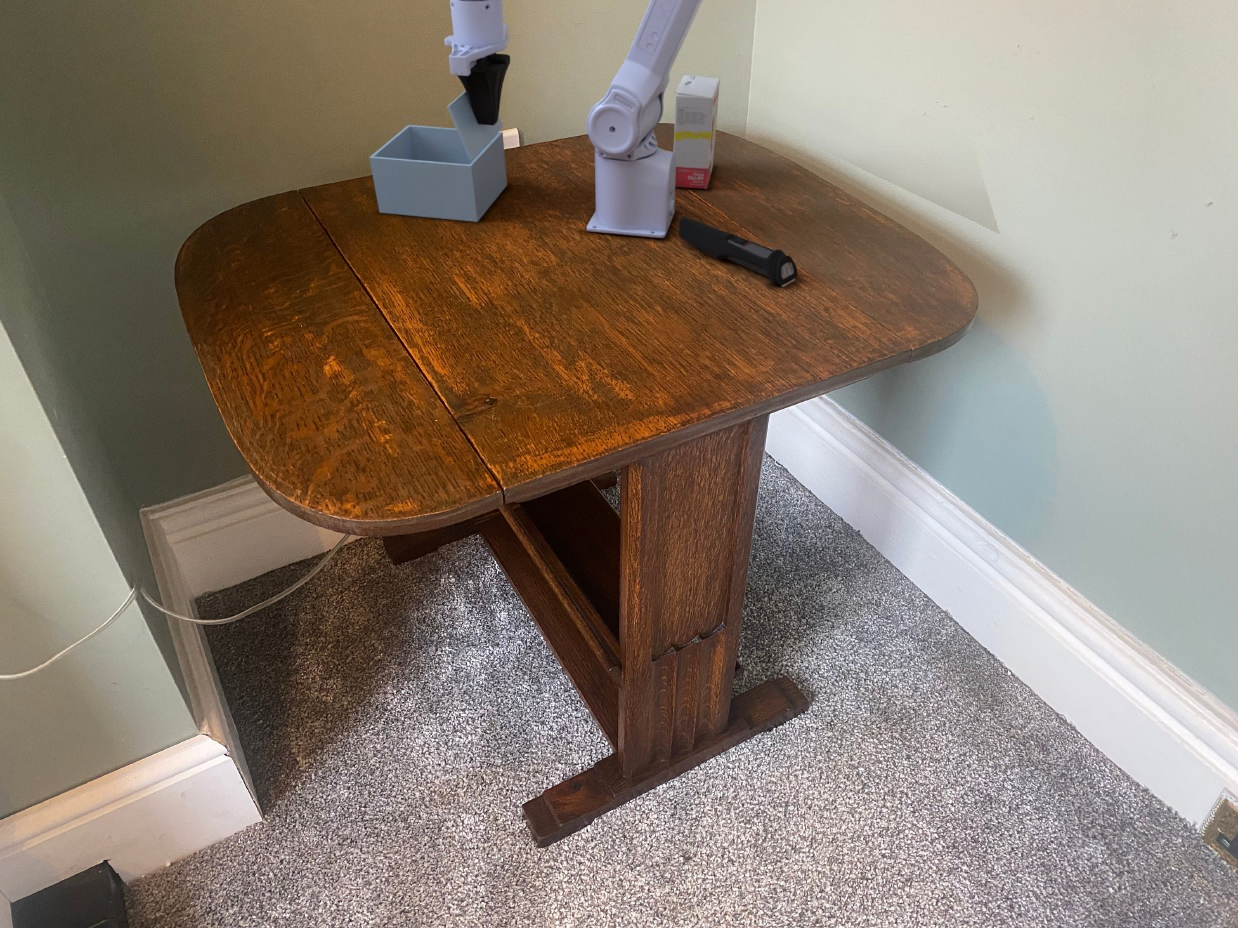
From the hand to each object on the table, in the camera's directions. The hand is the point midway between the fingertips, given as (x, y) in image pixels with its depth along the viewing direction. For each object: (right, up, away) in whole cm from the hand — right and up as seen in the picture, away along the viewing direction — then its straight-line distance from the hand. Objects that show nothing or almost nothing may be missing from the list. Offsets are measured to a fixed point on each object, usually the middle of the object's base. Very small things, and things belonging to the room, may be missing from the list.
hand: (487, 123), depth 101 cm
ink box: (+26, -2, +13) cm, 29 cm away
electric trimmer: (+29, -18, -6) cm, 34 cm away
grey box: (-7, -7, +7) cm, 12 cm away
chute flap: (-1, +1, 0) cm, 2 cm away
